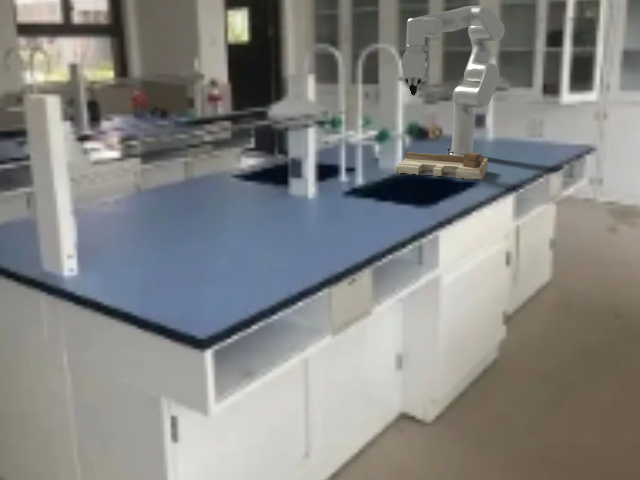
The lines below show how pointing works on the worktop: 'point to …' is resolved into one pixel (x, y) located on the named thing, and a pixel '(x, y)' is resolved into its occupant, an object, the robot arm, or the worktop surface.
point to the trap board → (440, 166)
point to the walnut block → (472, 160)
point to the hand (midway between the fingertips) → (412, 95)
